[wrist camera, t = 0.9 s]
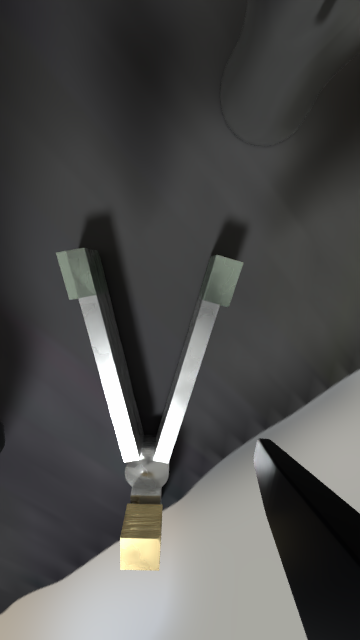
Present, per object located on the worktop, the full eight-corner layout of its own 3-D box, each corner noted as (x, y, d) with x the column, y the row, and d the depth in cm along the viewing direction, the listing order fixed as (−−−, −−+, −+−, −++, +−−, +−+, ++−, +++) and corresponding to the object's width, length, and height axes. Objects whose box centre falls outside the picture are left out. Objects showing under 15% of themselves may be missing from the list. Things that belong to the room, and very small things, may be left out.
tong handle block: (167, 499, 22) (166, 534, 20) (130, 498, 22) (123, 533, 19) (170, 434, 21) (169, 462, 18) (130, 433, 21) (123, 460, 18)
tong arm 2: (175, 440, 21) (175, 465, 18) (156, 435, 21) (153, 460, 18) (233, 263, 17) (243, 262, 15) (210, 256, 17) (216, 254, 15)
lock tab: (161, 533, 19) (159, 570, 17) (127, 532, 19) (120, 569, 17) (162, 504, 18) (160, 539, 16) (127, 503, 18) (120, 538, 16)
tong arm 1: (144, 435, 20) (139, 459, 18) (124, 438, 21) (116, 463, 18) (98, 250, 17) (84, 247, 14) (74, 255, 17) (56, 252, 14)
